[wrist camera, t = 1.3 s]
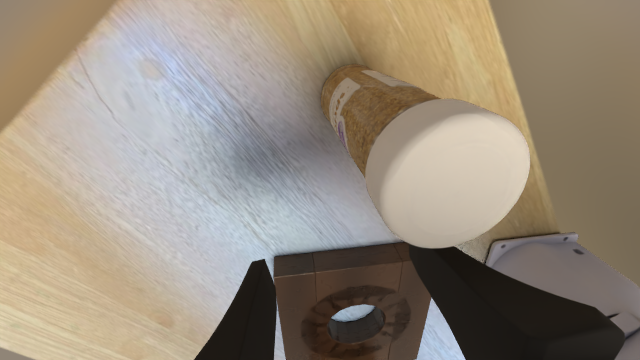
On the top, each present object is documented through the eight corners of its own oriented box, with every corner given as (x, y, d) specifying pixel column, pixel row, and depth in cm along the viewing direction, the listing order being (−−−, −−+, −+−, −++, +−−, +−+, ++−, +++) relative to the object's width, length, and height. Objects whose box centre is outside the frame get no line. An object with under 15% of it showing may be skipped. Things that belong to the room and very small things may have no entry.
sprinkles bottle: (307, 88, 19) (353, 177, 7) (364, 48, 18) (521, 75, 6) (340, 140, 21) (418, 276, 9) (393, 106, 20) (551, 207, 8)
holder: (427, 239, 27) (441, 257, 25) (408, 338, 34) (416, 359, 32) (273, 256, 25) (273, 277, 23) (288, 356, 33) (288, 379, 31)
